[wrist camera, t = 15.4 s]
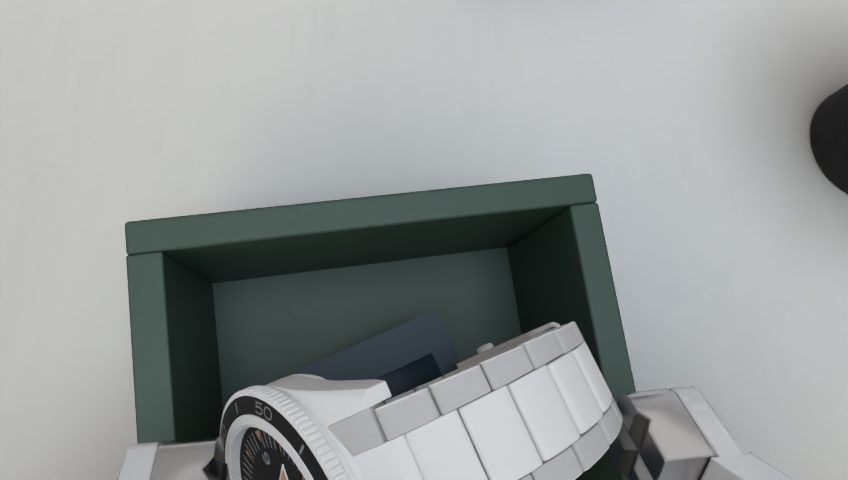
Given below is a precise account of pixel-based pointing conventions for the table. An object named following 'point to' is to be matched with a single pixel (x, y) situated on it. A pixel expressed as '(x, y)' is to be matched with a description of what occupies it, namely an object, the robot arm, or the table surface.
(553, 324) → the watch
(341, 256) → the open box
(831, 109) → the drinking cup
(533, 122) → the table surface
